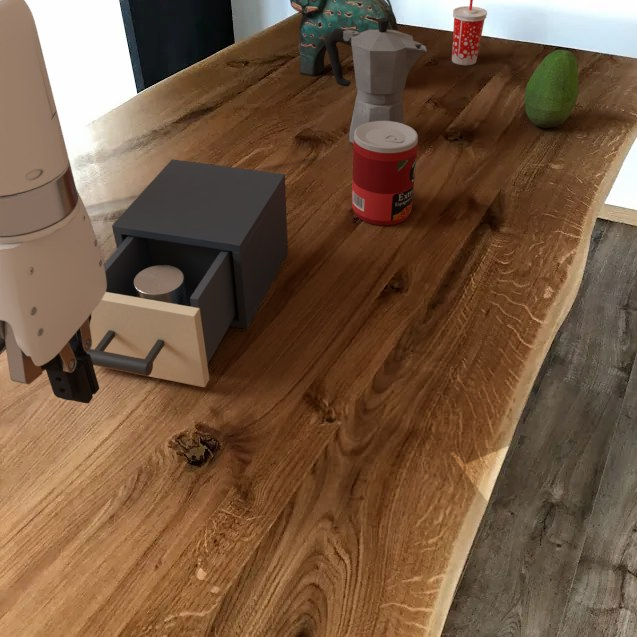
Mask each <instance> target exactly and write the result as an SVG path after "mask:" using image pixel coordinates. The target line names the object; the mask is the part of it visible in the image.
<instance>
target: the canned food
mask: <svg viewBox="0 0 637 637" xmlns="http://www.w3.org/2000/svg"><path fill="white" fill-rule="evenodd" d="M418 144H419V135H418V132H417V131H416V130H415V129H414V128H413V127H411V126H409V125H407V124H405V123H404V124H402V123H398V122H392V121H374V122H369V123H365V124H362V125H361V126H359V127H358V128H356V130H355V132H354V143H353V144H352V176H351V178H352V180H351V182H352V183H351V184H352V185H351V206H352V210H353V213H354V215H355V216H356V217H357V218H358V219H359V220H361V221H363V222H365V223H368V224H371V225H375V226H393V225H394V226H395V225H397V224H400V223H402V222H404V221H406V220H407V219H408V218H409V216H410V214H411V212H412V209H413V201H414V200H413V199H414V189H415V188H414V187H415V179H416V169H417V167H416V166H417V158H418V157H417V156H418V146H419V145H418Z"/></svg>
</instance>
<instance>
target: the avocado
mask: <svg viewBox="0 0 637 637" xmlns="http://www.w3.org/2000/svg"><path fill="white" fill-rule="evenodd" d="M577 61H578V60H577V56H576V55H575V54H574V53H573V52H571V51H569V50H567V49H555V50H553V51H552V52H550V53H548V54H547V55H546V56H545V57H544V58H543V60H541V61H540V63H539V65H538V66H537V68H536V69H535V70H534V72H533V73H532V74H531V76H530V78H529V80H528V82H527V83H526V87H525V92H524V96H523V101H524V108H525V110H524V111H525V114H526V116H527V118H528V119H529V120H530V122H531V123H532V125H534V126H536V127H540V128H542V129H550V128H554V127H555V128H556V127H558V126H560V125H562V124H563V123H564V122H565V121H567V119H568V118H569V116H570V115H571V113H572V111H573V110H574V108H575V106H576V105H577V100H578V97H579V92H580V85H579V84H580V83H579V68H578V62H577Z"/></svg>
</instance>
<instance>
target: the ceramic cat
mask: <svg viewBox="0 0 637 637" xmlns="http://www.w3.org/2000/svg"><path fill="white" fill-rule="evenodd" d="M289 2H290V6H291V8H292V9H293V10H294V11H296V12H298V13H300V14H301V15H302V16H301V19H300V23H299V42H298V53H299V54H298V55H299V73H300V74H301V75H307V76H310V77H314V76H317V75H319V74H320V73H321V72H323V71H324V70H325V58H326V52H327V49H326V46H325V40H326V38H327V37H328V36H329V35H330V34H331V32H332V31H333V30H334V29H337V28H338V29H343V30H353V31H357V32H359V33H361V32H364V31H367V30H379V26H378V19H379V18H387V19H389V22H388V26H387V30H396V31H399V27H398V23H397V18H396V15H395V13H394V10H393V6H392V3H391V1H390V0H289Z"/></svg>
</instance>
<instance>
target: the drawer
mask: <svg viewBox="0 0 637 637" xmlns="http://www.w3.org/2000/svg"><path fill="white" fill-rule="evenodd" d="M232 252H233V251H226V250H220V249H213V248H207V247H201V246H194V245H188V244H181V243H175V242H169V241H162V240H156V239H149V238H143V237H136V236H130V235H128V236H127V238H126V239H125V240H124V241H123V242H122V243H121V245H120V246H119V247H118V248H117V247H116V249H115V250H114V251H113V253H112V254H111V255H110V256H109V257H108V259H106V261H105V262H103V264H104V268H105V274H106V282H107V289H106V292H105V294H104V296H103V298H102V300H101V301H100V303H99V304H98V305H97V307H96V308H95V309H94V310H93V312H92V314H91V317H92V318H91V321H90V331H91V337H92V347H91V349H90V351H89V352H87V354H90V356H91V360H92V363H93V367H94V366H95V367H100V368H105V369H110V370H116V371H120V372H126V373H128V374H129V373H130V374H133V375H140V376H145V377H150V378H155V379H160V380H165V381H171V382H175V383H181V384H185V385H189V386H190V385H191V386H195V387H201V388H206V386H207V385H208V382H209V381H210V374H209V367H208V366H209V365H208V364H209V362H210V360H211V359H212V358H213V356H214V353H215V352H216V350H217V349H218V346H219V345H220V343H221V341H223V340H222V339H223V338H224V336H225V335H226V333H227V331H228V329H229V327H230V326H229V325H230V324H231V322H232V320H233V318H234V317H235V315H236V313H237V311H238V305H237V295H236V284H235V274H234V263H233V253H232ZM157 265H169V266H173V267H176V268H178V269H179V270H181V271H182V273H183V275H184V281H185V287H186V294H187V301H188V306H184V305H178V304H172V303H167V302H161V301H155V300H149V299H144V298H138V297H136V292H135V288H134V279H135V277H136V275H137V274H138V273H139V272H141V271H142V270H144V269H146V268H149V267H152V266H157Z"/></svg>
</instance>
